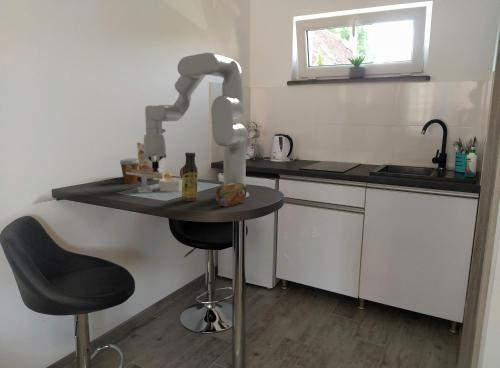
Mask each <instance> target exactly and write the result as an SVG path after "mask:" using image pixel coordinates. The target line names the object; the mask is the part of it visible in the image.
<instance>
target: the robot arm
mask: <svg viewBox="0 0 500 368" xmlns="http://www.w3.org/2000/svg"><path fill="white" fill-rule="evenodd" d="M177 72H178V74H179V77H178V78H177V81H175V83H174V89H175V90H176V92H178V97H177V99H176V100H175V102H174V103H173V104H158V105H155V104H154V105H146V106H145V108H144V109H145V110H144V113H145V114H144V115H145V116H144V117H145V134H144V136H143V142H144V158H147V159H150V160H151V161H152V169H153V168H154V170H158V168H159V161H160V160H161V159H162V158H164V159H165V158H167V150H166V149H167V147H166V139H165V135H164V134H163V133H166V129H164V128H163V122H177V121H179V120H180V119H182V118H183V116H184V115H185V114H186V112H187V111H188V110H189V107H190V105H191V99H192V98H191V96H192V95H193V93H194V92H195V91H196V89H197V88H198V86H199V85H200V84H201V82H202V81H203V80H204V78H205V77H206V76H213V77H220V78H223V81H222V84H221V93H222V95H219V96H217V97H216V98H215V99H214V100H213V102H212V104H211V107H210V108H211V109H210V112H211V128H212V138H213V140H214V142H215V143H216V144H217V145H218V146H219V147H221V148H222V147H224V151H223V185H227V184H232V183H242V184H244V186H245V187H246V168H247V167H246V160H247V146H248V139H249V138H248V136H249V133H248V130H247V128H246V126H244V125H243V124H242V123H239V122H234V120H238V119H240V118H242V117H243V114H244V93H243V72H242V68H241V66H240V64H239V62H237V61H236V60H235V59H232V58H230V57H228V56H225V55H221V54H216V53H212V52H203V53H198V54H191V55H187V56H184V57H182V58H181V59H179V62H178V63H177ZM161 155H162V156H161ZM154 156H157V157H156V162H155V160H154ZM249 196H250V194H249V192H248V191H246V197H245V199H246V198H248V197H249Z"/></svg>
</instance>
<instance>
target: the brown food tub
mask: <svg viewBox="0 0 500 368" xmlns="http://www.w3.org/2000/svg"><path fill="white" fill-rule="evenodd" d="M119 163H120V167H121V172H122V178H123V183H124V184H136V183H137V182H138V176H137V175H129V174H126V166H127V165H131V166H132V169H136V170H139V168H138V163H139V161H138V158H121V159H120V161H119Z"/></svg>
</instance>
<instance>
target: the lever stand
mask: <svg viewBox="0 0 500 368" xmlns="http://www.w3.org/2000/svg"><path fill="white" fill-rule="evenodd" d="M140 179H141V180H140V181H141V186H137V187H136V188H137V192H138V194H141V193H142V194H143V193H153V188H152V187H151V186H150V185H149V186H148V179H147V174H142V176H141V177H140Z"/></svg>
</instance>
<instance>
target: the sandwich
mask: <svg viewBox="0 0 500 368" xmlns="http://www.w3.org/2000/svg"><path fill="white" fill-rule="evenodd" d="M246 192H247V187H246V185H245V186H244V184H242V183H232V184H227V185H224V184H221V185H220V186H219V187H218V188H217V189H216V191H215V200H216V203H217V204H218V205H219V206H221V207H225V208H226V206H228V207H231V205H232V206H235V204H236V205H238V204H239V203H240V204H243V202H244V201H245V200H246V198H247V197H246ZM245 197H246V198H245Z"/></svg>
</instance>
